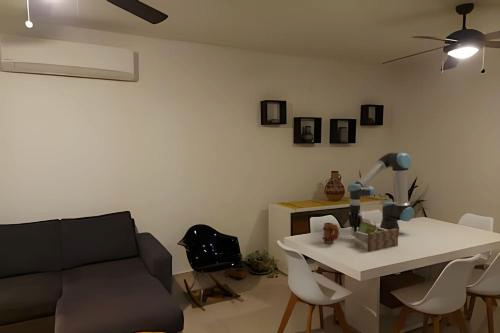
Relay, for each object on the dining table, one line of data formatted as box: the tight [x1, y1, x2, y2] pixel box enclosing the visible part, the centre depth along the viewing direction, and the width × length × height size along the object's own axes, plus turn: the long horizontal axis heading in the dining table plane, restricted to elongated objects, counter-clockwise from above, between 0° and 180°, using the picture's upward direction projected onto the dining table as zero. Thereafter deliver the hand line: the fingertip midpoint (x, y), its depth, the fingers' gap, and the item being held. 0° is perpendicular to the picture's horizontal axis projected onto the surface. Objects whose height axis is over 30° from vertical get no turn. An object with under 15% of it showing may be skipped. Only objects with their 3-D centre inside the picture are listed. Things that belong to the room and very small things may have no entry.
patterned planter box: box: [354, 227, 399, 253], centre depth 243 cm, size 28×14×12 cm, turn 119°
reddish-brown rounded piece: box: [322, 222, 340, 245], centre depth 248 cm, size 15×8×15 cm, turn 23°
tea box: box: [357, 217, 377, 234], centre depth 254 cm, size 15×10×15 cm, turn 166°
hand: (353, 235), depth 261 cm, fingers closed
